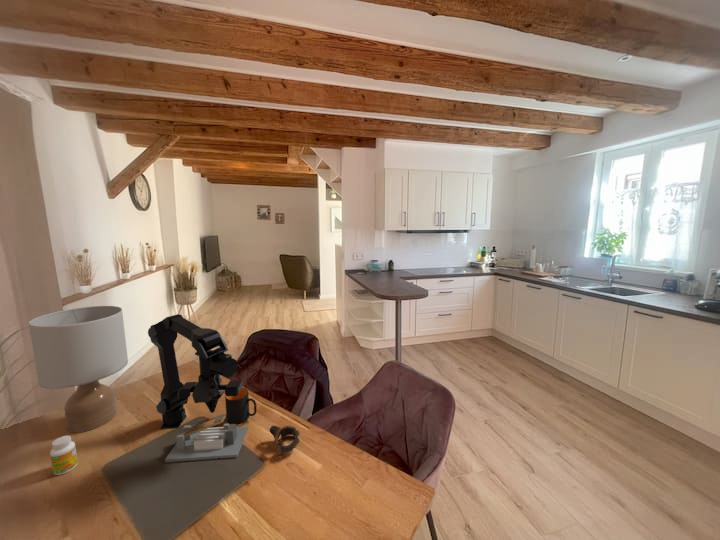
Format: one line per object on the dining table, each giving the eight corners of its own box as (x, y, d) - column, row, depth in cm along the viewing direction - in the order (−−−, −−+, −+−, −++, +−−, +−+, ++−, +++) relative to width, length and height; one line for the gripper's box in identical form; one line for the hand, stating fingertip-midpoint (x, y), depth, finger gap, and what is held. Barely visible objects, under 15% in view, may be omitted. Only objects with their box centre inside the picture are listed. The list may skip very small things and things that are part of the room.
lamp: (53, 454, 93) (33, 332, 87) (43, 423, 108) (25, 316, 101) (141, 416, 112) (130, 313, 106) (123, 394, 127) (112, 302, 120)
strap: (180, 438, 96) (178, 435, 96) (185, 432, 99) (183, 429, 98) (222, 423, 97) (221, 419, 96) (226, 417, 100) (224, 413, 99)
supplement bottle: (49, 478, 85) (44, 449, 83) (57, 465, 90) (53, 437, 88) (73, 471, 87) (69, 443, 86) (80, 458, 92) (76, 431, 91)
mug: (251, 427, 108) (250, 402, 106) (222, 423, 109) (220, 398, 108) (262, 413, 116) (261, 389, 114) (234, 410, 117) (233, 386, 116)
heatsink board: (165, 462, 91) (163, 445, 90) (185, 433, 104) (183, 418, 103) (237, 457, 94) (236, 440, 93) (247, 429, 106) (247, 414, 106)
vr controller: (305, 438, 103) (305, 428, 98) (291, 465, 96) (289, 457, 91) (277, 423, 106) (275, 413, 101) (261, 449, 99) (258, 440, 94)
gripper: (166, 383, 86) (170, 430, 88) (230, 380, 88) (233, 426, 90) (184, 365, 97) (188, 407, 99) (241, 363, 99) (244, 404, 101)
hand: (212, 412), depth 97 cm, fingers closed
